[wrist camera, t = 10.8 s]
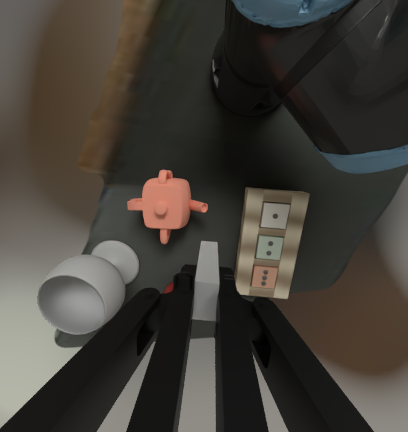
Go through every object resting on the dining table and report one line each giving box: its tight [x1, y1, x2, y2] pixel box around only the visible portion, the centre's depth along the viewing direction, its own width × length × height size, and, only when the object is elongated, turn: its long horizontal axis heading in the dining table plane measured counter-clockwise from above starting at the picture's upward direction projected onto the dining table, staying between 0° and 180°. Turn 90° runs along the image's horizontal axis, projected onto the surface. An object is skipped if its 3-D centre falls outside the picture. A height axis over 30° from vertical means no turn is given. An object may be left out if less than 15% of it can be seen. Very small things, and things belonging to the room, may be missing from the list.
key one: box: [259, 201, 290, 229], centre depth 39 cm, size 5×5×3 cm
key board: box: [234, 187, 310, 299], centre depth 42 cm, size 24×12×3 cm, turn 176°
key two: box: [255, 234, 284, 260], centre depth 41 cm, size 5×5×3 cm
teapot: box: [127, 170, 208, 244], centre depth 37 cm, size 12×12×10 cm
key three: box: [251, 264, 278, 289], centre depth 43 cm, size 5×5×3 cm
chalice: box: [37, 240, 140, 334], centre depth 39 cm, size 14×14×15 cm
